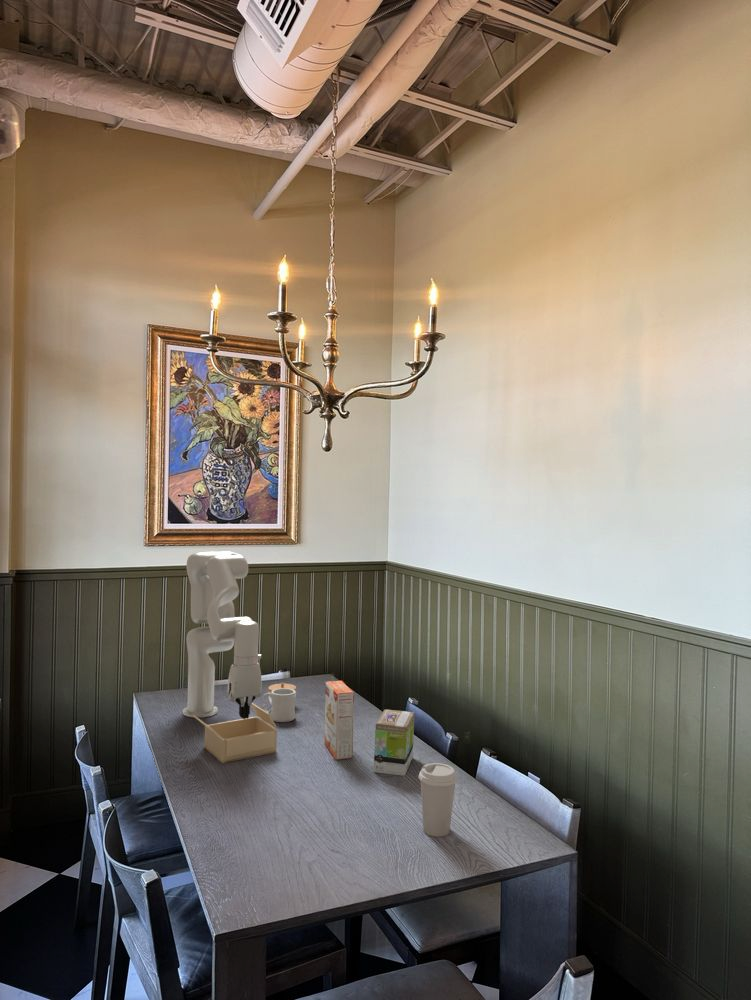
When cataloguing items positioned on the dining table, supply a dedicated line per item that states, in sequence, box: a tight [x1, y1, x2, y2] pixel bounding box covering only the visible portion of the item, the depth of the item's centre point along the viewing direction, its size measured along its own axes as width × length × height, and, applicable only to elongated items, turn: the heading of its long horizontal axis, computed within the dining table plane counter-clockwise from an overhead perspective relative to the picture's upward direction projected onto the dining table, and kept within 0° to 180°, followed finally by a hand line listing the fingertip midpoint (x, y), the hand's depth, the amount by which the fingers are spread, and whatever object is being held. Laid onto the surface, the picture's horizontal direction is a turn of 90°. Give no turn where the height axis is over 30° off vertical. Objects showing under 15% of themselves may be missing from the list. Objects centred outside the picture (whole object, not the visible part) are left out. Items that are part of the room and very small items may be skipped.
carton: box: [204, 716, 278, 764], centre depth 214 cm, size 16×18×7 cm
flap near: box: [193, 715, 222, 738], centre depth 207 cm, size 14×6×1 cm
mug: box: [261, 688, 297, 723], centre depth 245 cm, size 12×9×10 cm
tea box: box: [373, 709, 415, 777], centre depth 205 cm, size 15×10×15 cm, turn 168°
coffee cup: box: [418, 762, 458, 838], centre depth 165 cm, size 10×10×15 cm
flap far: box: [250, 702, 277, 729], centre depth 218 cm, size 14×6×1 cm
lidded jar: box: [267, 682, 297, 706], centre depth 258 cm, size 11×11×9 cm
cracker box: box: [324, 680, 355, 761], centre depth 215 cm, size 14×6×21 cm, turn 19°
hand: (244, 717), depth 214 cm, fingers closed
